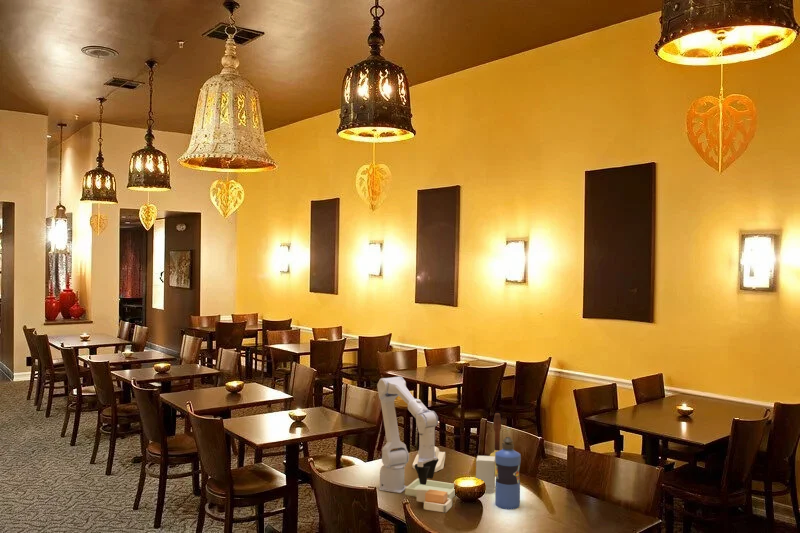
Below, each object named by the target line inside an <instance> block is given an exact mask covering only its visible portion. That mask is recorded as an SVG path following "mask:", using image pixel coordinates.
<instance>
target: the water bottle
mask: <svg viewBox="0 0 800 533" xmlns="http://www.w3.org/2000/svg"><path fill="white" fill-rule="evenodd" d="M513 442H514V440H513V439H512V437H511V436H506V437H505V438H504V439H502V444H501V445H502V446H501V448H502V449H500V451H497V452H496V453H495V462H496V470H497V475H495V489H494V494H495V498H494V499H495V503H494V505H495V506H496V507H497V508H499V509H503V510H516V509H519V508H520V506H521V480H520V468H521V463H522V461H521V460H522V458H521V457H522V456H521V455H522V454H521V453H520V452H519V451H516V450H515V449H514V448H515V447H514V446H515V445H514V444H515V443H513Z"/></svg>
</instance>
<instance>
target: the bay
mask: <svg viewBox="0 0 800 533" xmlns="http://www.w3.org/2000/svg"><path fill="white" fill-rule="evenodd" d="M452 507H453V498H452V499H449V498H447V502H446V503H445V504H438V503H432V502H423V510H427V511H431V512H432V511H434V512H437V513H438V512H440V513H441V512H442V513H445V514H446V513H447V512H448V511H449V510H450V509H451V508H452Z"/></svg>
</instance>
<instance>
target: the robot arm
mask: <svg viewBox="0 0 800 533" xmlns="http://www.w3.org/2000/svg"><path fill="white" fill-rule="evenodd" d="M376 387H377V393H378V399H379V400H380V406H381V412H382V419H383V427H384V431H385V438H386V443H385V444H384V446H382V448H381V463H382V466H381V468H380V471H379V488H378V490H379V491H383V492H390V493H398V494H401V493H403V492H405V488H406V487H407V486H408V485H405V467H407V464H408V463H409V461H410V453H409V451H408V448H407V445H406V444H405V442H402V441H401V439H400V431H399V426H398V419H397V412H396V407H395V401H396V398H398V397H399V398H400V399H401V400H402V401H403V402H404V403H405V404H407V410H408V411H409V413H411V415H412V416H413V417H414V419H415V423H416V426H417V431H418V434H419V435H418V438H419V442H418V443H419V444H418V445H419V446H418V451H419V460H418V464H415V469H416V470H415V469H414V470H415V471H416V473H417V476H418V477H417V478H418V479H419V481H420V484H422V485H426V482H427V480H428V479H429V480H432V479H433V478H434V476H435V475H434V474H435V472H434V471H435V467H436V464H437V462H438V457H436V452H435V447H436V446H435V444H436V440H435V438H436V437H435V435H436V431H435V430H436V426H438V424H439V416H438V415H437V413H436V412H435V411H434V410H430V409H428V408H427V406H426V405H425V404H424V403H423V402H422V400H421V399H419V398H415V397H414V396H413V395H412V393H411V391H410V390H409V389H408V387H407V382H406V380H405V379H404V377H402V376H401V375H400V376H399V375H398V376H393V377H381V378H380V379H379V381H378V382H377V384H376Z"/></svg>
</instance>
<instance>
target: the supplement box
mask: <svg viewBox="0 0 800 533" xmlns="http://www.w3.org/2000/svg"><path fill="white" fill-rule="evenodd" d="M475 467H476V468H475V479H476V478H478V479H481V480H483V481H484V482H485V484H486V493H485V494H495V484H496V475H495V456H490V455H477V456H476V460H475Z"/></svg>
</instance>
